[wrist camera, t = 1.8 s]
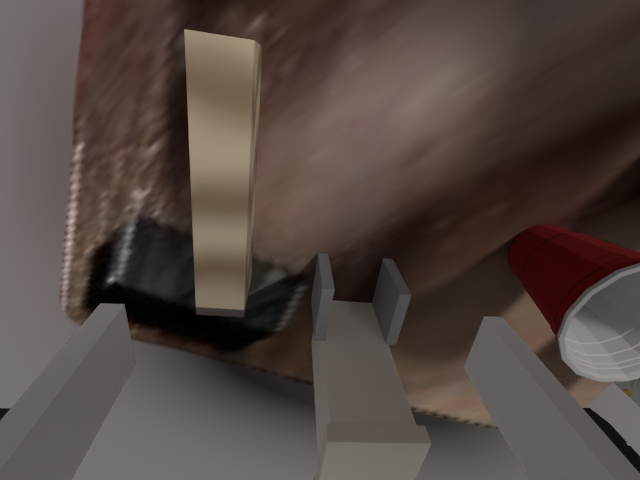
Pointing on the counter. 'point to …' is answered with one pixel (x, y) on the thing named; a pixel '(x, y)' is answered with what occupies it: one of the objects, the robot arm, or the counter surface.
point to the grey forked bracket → (362, 383)
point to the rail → (222, 166)
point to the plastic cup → (584, 298)
